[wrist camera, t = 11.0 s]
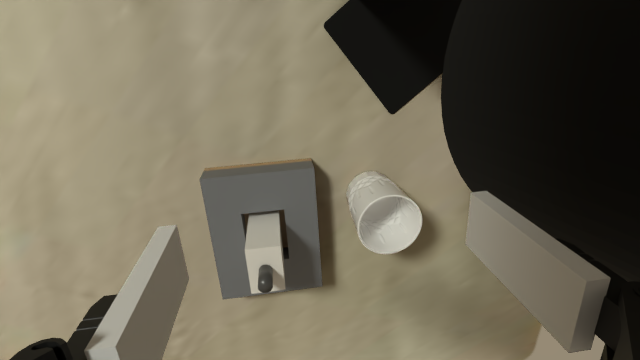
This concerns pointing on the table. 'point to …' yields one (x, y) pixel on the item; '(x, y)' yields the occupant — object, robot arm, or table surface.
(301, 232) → the socket box
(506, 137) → the table lamp
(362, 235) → the white cup
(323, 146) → the table surface
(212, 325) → the table surface
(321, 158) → the table surface
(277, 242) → the plug
